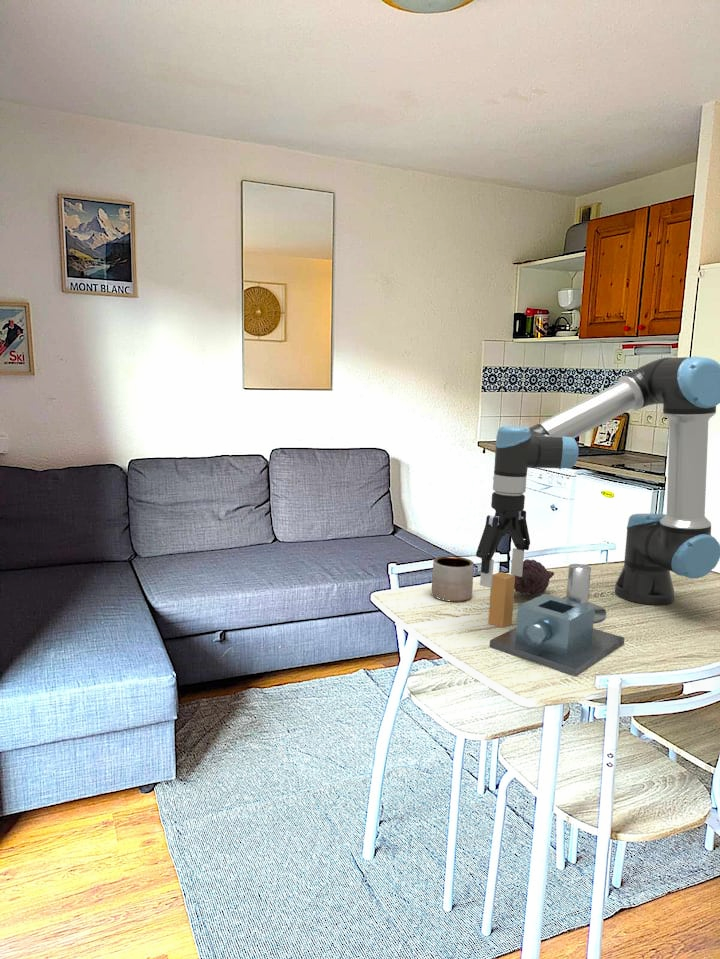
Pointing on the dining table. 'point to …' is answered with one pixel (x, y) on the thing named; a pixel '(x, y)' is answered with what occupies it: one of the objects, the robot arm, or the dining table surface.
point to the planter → (452, 578)
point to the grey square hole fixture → (561, 628)
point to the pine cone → (533, 578)
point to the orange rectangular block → (501, 599)
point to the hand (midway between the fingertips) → (501, 580)
